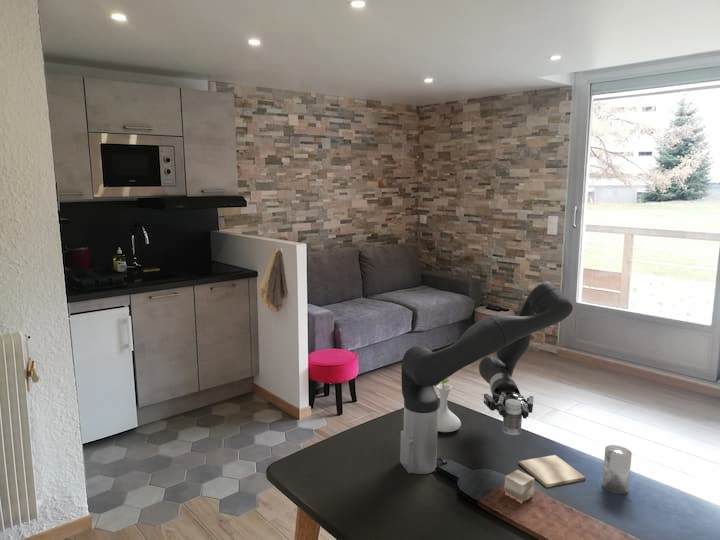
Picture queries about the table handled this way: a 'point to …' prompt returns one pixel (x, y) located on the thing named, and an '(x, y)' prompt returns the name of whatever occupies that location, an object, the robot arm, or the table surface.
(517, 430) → the pill bottle
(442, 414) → the flower in vase
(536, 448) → the table surface
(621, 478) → the tin can
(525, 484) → the ash block
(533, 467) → the oak mat
